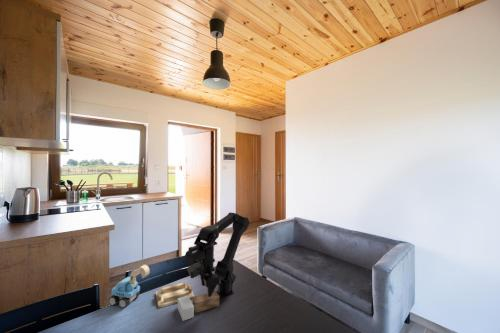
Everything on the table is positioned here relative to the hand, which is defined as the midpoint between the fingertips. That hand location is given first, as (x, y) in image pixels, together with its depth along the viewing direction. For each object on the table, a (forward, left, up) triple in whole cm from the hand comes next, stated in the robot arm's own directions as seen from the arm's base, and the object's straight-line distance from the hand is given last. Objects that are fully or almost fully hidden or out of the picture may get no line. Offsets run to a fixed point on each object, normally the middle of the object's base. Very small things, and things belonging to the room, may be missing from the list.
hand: (206, 291), depth 97 cm
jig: (+11, -14, -7) cm, 19 cm away
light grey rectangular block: (+9, 0, -7) cm, 12 cm away
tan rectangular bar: (0, 0, -7) cm, 7 cm away
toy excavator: (+30, -18, -7) cm, 36 cm away
